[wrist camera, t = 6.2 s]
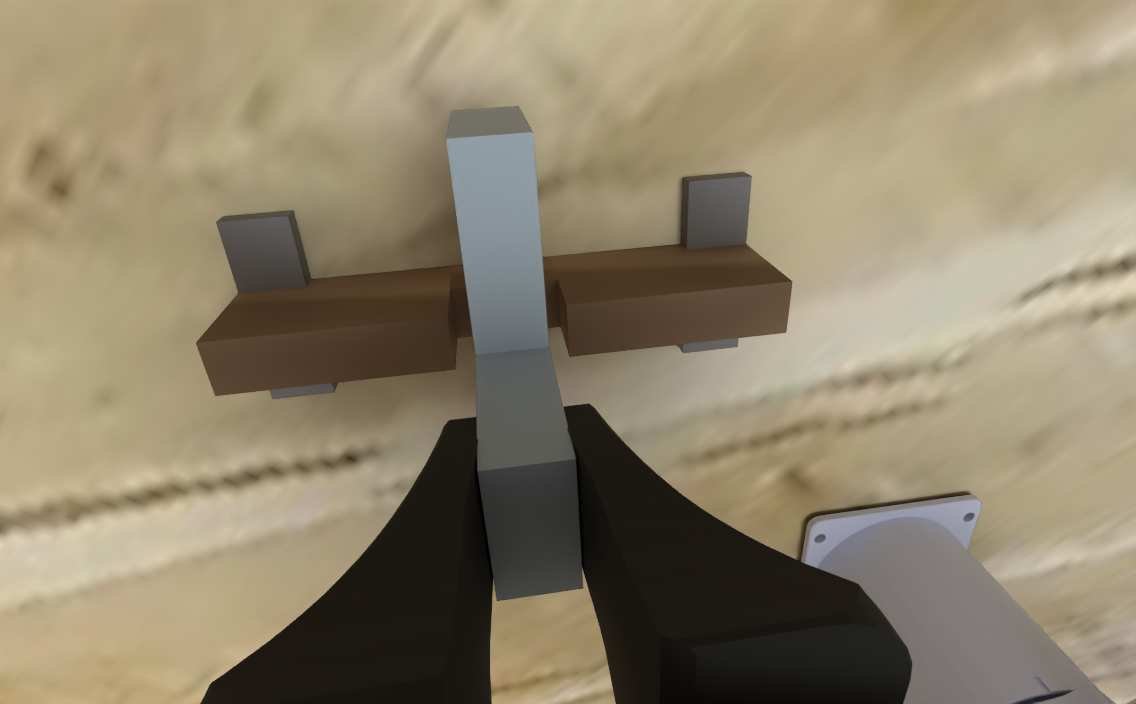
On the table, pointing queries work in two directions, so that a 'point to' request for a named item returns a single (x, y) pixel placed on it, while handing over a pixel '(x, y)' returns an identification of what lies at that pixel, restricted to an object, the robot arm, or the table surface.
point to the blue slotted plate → (498, 224)
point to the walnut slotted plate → (441, 311)
